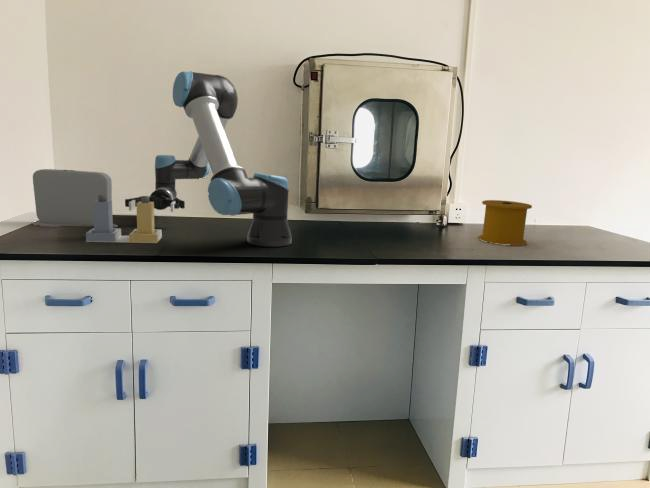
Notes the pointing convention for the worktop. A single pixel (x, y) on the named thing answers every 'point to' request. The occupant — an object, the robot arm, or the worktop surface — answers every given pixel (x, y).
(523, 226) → the spool
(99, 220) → the blue-grey bottle
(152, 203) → the ochre plug
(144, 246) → the worktop surface
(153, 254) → the worktop surface
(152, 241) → the slot rack
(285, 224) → the robot arm
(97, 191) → the grey upright panel
